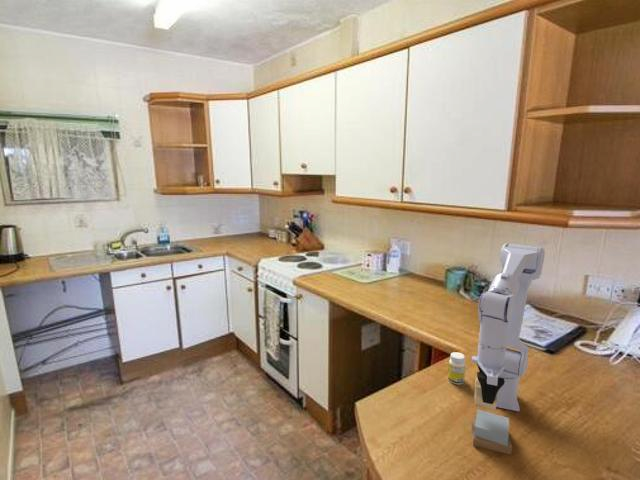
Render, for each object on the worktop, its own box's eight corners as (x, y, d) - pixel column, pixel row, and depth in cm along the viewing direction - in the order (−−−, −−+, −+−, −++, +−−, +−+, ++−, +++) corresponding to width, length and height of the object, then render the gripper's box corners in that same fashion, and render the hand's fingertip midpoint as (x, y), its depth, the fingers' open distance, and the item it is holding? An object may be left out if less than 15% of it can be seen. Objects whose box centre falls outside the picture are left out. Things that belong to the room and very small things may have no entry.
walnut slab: (471, 425, 92) (472, 416, 92) (506, 433, 89) (507, 424, 89) (472, 447, 85) (473, 438, 84) (510, 456, 82) (512, 447, 82)
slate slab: (476, 418, 91) (477, 409, 91) (508, 427, 88) (509, 418, 87) (474, 435, 85) (474, 426, 85) (507, 446, 82) (508, 436, 81)
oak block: (474, 395, 90) (475, 376, 89) (494, 399, 88) (496, 380, 87) (474, 406, 86) (476, 386, 85) (495, 410, 84) (497, 390, 83)
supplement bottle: (450, 374, 114) (452, 349, 113) (466, 379, 111) (468, 354, 110) (445, 381, 111) (447, 355, 109) (461, 386, 108) (463, 360, 106)
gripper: (472, 328, 92) (468, 376, 94) (474, 354, 79) (469, 410, 81) (503, 332, 89) (498, 382, 92) (510, 360, 76) (504, 418, 79)
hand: (487, 396), depth 86 cm, fingers closed on oak block, 4 cm apart
